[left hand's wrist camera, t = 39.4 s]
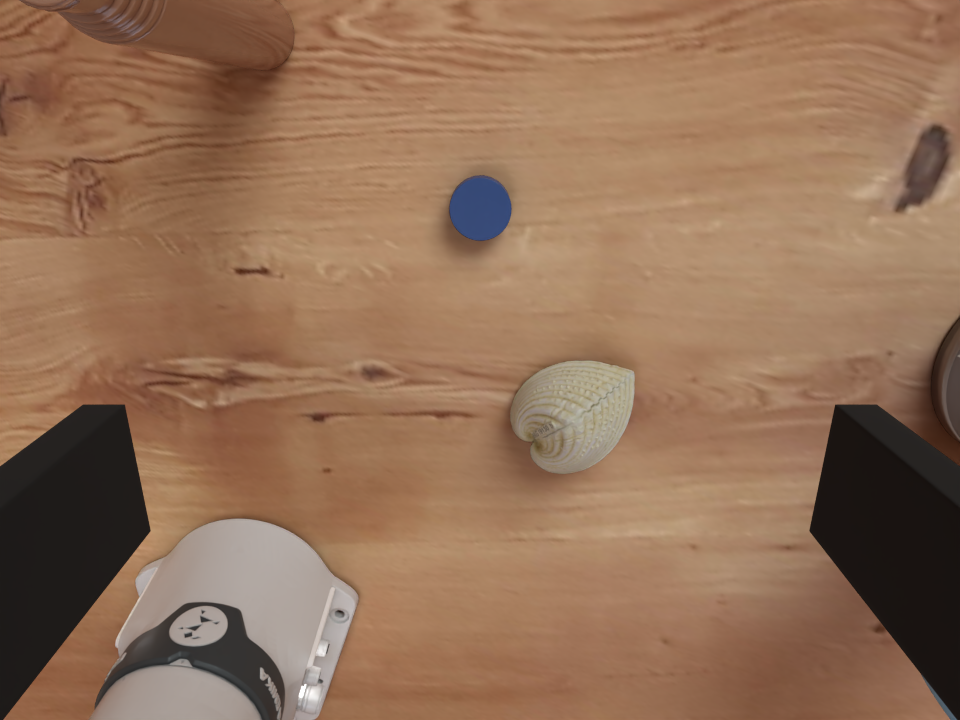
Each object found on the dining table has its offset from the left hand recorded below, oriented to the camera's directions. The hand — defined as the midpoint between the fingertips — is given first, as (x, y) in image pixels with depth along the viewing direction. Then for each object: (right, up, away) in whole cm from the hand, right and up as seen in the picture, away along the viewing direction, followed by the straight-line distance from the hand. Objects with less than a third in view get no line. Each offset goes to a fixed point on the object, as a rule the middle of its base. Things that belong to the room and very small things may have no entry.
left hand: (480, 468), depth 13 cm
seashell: (+7, -2, +40) cm, 40 cm away
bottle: (-14, +23, +30) cm, 41 cm away
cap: (0, +12, +33) cm, 35 cm away
